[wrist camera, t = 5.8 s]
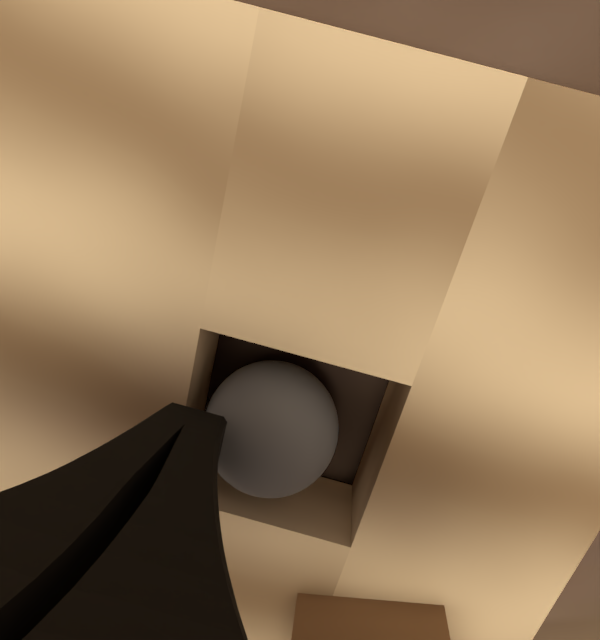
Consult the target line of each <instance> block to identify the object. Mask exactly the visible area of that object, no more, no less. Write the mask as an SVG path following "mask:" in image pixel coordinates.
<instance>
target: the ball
mask: <svg viewBox="0 0 600 640" xmlns="http://www.w3.org/2000/svg"><path fill="white" fill-rule="evenodd" d="M206 412H209V413H213V414H216V415H220V416H224V418H225V420H226V421H227V425H226V429H225V434H224V438H223V443H222V447H221V452H220V456H219V461H218V473H219V475H220V476H221V477H222V478H223V479H224V480H225V481H226V482H228V483H229V484H230V485H231V486H233V487H234V488H236V489H237V490H239V491H241V492H243V493H246V494H248V495H251V496H255V497H260V498H281V497H286V496H290V495H293V494H295V493H298V492H300V491H302V490H303V489H305V488H307V487H308V486H310V485H311V484H312V483H314V482H315V481H316V480H317V479H318V478H319V477H320V476H321V475H322V473H323V472H324V471H325V470H326V468H327V467H328V465H329V463H330V462H331V460H332V457H333V455H334V453H335V449H336V446H337V442H338V433H339V424H338V416H337V411H336V407H335V405H334V402H333V400H332V398H331V396H330V394H329V392H328V391H327V389H326V388H325V386H324V385H323V384H322V383H321V382H320V381H319V380H318V379H317V378H316V377H315V376H314V375H313V374H312V373H310V372H309V371H307V370H306V369H304V368H302V367H300V366H298V365H295V364H292V363H289V362H284V361H275V360H267V361H259V362H255V363H252V364H249V365H247V366H244V367H242V368H240V369H238V370H237V371H235V372H234V373H232V374H231V375H230V376H228V377H227V378H226V379H225V380H224V381H223V382H222V383H221V384H220V386H219V387H218V388H217V390H216V391H215V392H214V394H213V396H212V398H211V400H210V402H209V404H208V407H207V410H206Z"/></svg>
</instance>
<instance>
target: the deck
mask: <svg viewBox="0 0 600 640" xmlns="http://www.w3.org/2000/svg"><path fill="white" fill-rule="evenodd" d="M220 334H223V335H226V336H230V337H234V338H237V339H241V340H245V341H248V342H252V343H256V344H259V345H263V346H267V347H270V348H274V349H278V350H281V351H285V352H288V353H292V354H296V355H299V356H303V357H307V358H310V359H314V360H318V361H321V362H325V363H329V364H332V365H336V366H340V367H343V368H347V369H351V370H354V371H358V372H361V373H365V374H369V375H372V376H376V377H380V378H383V379H387V380H389V383H388V386H387V389H386V391H385V394H384V397H383V400H382V403H381V405H380V408H379V411H378V414H377V417H376V419H375V422H374V425H373V428H372V431H371V434H370V436H369V439H368V442H367V445H366V448H365V450H364V453H363V456H362V459H361V462H360V464H359V467H358V470H357V473H356V476H355V479H354V481H353V484H352V485H349V484H346V483H342V482H339V481H335V480H331V479H328V478H324V477H321V476H320V477H319V478H318V479H317V480H316V481H315V482H314V483H312V484H311V485H310V486H308V487H307V488H305V489H303V490H302V491H300V492H298V493H295V494H293V495H290V496H286V497H281V498H260V497H255V496H251V495H248V494H246V493H243V492H241V491H239V490H237V489H236V488H234V487H233V486H231V485H230V484H229V483H228V482H226V481H225V480H224V479H223V478H222V477H221V476H220V475H219V473H218V478H217V485H218V505H219V517H220V526H221V533H222V540H223V546H224V552H225V557H226V562H227V567H228V572H229V576H230V579H231V583H232V587H233V591H234V595H235V599H236V603H237V607H238V610H239V613H240V617H241V620H242V623H243V626H244V629H245V632H246V635H247V638H248V640H291V637H292V630H293V623H294V615H295V608H296V600H297V593H303V594H315V595H327V596H339V597H351V598H363V599H375V600H387V601H399V602H411V603H423V604H435V605H444V607H445V612H446V618H447V623H448V629H449V634H450V640H532V639H533V637H534V636H535V634H536V633H537V631H538V629H539V628H540V626H541V625H542V623H543V621H544V620H545V618H546V616H547V615H548V613H549V612H550V610H551V608H552V607H553V605H554V603H555V602H556V600H557V599H558V597H559V595H560V594H561V592H562V590H563V589H564V587H565V586H566V584H567V582H568V581H569V579H570V577H571V576H572V574H573V573H574V571H575V569H576V568H577V566H578V564H579V563H580V561H581V560H582V558H583V556H584V555H585V553H586V551H587V550H588V548H589V547H590V545H591V543H592V542H593V540H594V539H595V537H596V535H597V534H598V532H599V530H600V96H598V95H594V94H590V93H587V92H583V91H579V90H575V89H571V88H567V87H564V86H560V85H556V84H552V83H548V82H544V81H541V80H537V79H533V78H529V77H525V76H521V75H518V74H514V73H510V72H506V71H502V70H498V69H495V68H491V67H487V66H483V65H479V64H475V63H472V62H468V61H464V60H460V59H456V58H452V57H449V56H445V55H441V54H437V53H433V52H429V51H426V50H422V49H418V48H414V47H410V46H406V45H403V44H399V43H395V42H391V41H387V40H383V39H380V38H376V37H372V36H368V35H364V34H360V33H357V32H353V31H349V30H345V29H341V28H337V27H334V26H330V25H326V24H322V23H318V22H314V21H311V20H307V19H303V18H299V17H295V16H291V15H288V14H284V13H280V12H276V11H272V10H268V9H265V8H261V7H257V6H253V5H249V4H245V3H242V2H238V1H234V0H0V491H3V490H6V489H9V488H12V487H15V486H17V485H20V484H22V483H25V482H27V481H29V480H32V479H34V478H37V477H39V476H41V475H44V474H46V473H48V472H51V471H53V470H55V469H57V468H59V467H61V466H63V465H65V464H67V463H69V462H71V461H73V460H75V459H77V458H79V457H81V456H83V455H85V454H87V453H88V452H90V451H92V450H94V449H96V448H98V447H100V446H102V445H103V444H105V443H107V442H108V441H110V440H112V439H114V438H115V437H117V436H119V435H120V434H122V433H124V432H125V431H127V430H129V429H130V428H132V427H134V426H135V425H137V424H138V423H140V422H142V421H143V420H145V419H146V418H148V417H149V416H151V415H152V414H154V413H156V412H157V411H159V410H160V409H162V408H163V407H165V406H167V405H168V404H170V403H172V402H173V403H177V404H180V405H184V406H187V407H191V408H195V409H198V410H202V411H204V410H205V405H206V400H207V395H208V390H209V385H210V380H211V375H212V370H213V365H214V360H215V355H216V350H217V345H218V340H219V335H220Z"/></svg>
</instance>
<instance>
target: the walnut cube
mask: <svg viewBox="0 0 600 640" xmlns="http://www.w3.org/2000/svg"><path fill="white" fill-rule="evenodd" d="M291 640H450V634H449V629H448V623H447V618H446V612H445V607H444V605H435V604H423V603H411V602H399V601H387V600H375V599H363V598H351V597H339V596H327V595H315V594H303V593H297V600H296V608H295V615H294V623H293V630H292V637H291Z"/></svg>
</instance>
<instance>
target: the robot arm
mask: <svg viewBox="0 0 600 640" xmlns="http://www.w3.org/2000/svg"><path fill="white" fill-rule="evenodd" d="M226 425H227V421H226V420H225V418H224V416H220V415H216V414H213V413H209V412H206V411H202V410H198V409H195V408H191V407H187V406H184V405H180V404H177V403H173V402H172V403H170V404H168V405H167V406H165V407H163V408H162V409H160V410H159V411H157V412H156V413H154V414H152V415H151V416H149V417H148V418H146V419H145V420H143V421H142V422H140V423H138V424H137V425H135V426H134V427H132V428H130V429H129V430H127V431H125V432H124V433H122V434H120V435H119V436H117V437H115V438H114V439H112V440H110V441H108V442H107V443H105V444H103V445H102V446H100V447H98V448H96V449H94V450H92V451H90V452H88V453H87V454H85V455H83V456H81V457H79V458H77V459H75V460H73V461H71V462H69V463H67V464H65V465H63V466H61V467H59V468H57V469H55V470H53V471H51V472H48V473H46V474H44V475H41V476H39V477H37V478H34V479H32V480H29V481H27V482H25V483H22V484H20V485H17V486H15V487H12V488H9V489H6V490H3V491H0V640H248V638H247V635H246V632H245V629H244V626H243V623H242V620H241V617H240V613H239V610H238V607H237V603H236V599H235V595H234V591H233V587H232V583H231V579H230V576H229V572H228V567H227V562H226V557H225V552H224V546H223V540H222V533H221V526H220V517H219V505H218V485H217V478H218V461H219V456H220V452H221V447H222V443H223V438H224V434H225V429H226Z"/></svg>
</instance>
